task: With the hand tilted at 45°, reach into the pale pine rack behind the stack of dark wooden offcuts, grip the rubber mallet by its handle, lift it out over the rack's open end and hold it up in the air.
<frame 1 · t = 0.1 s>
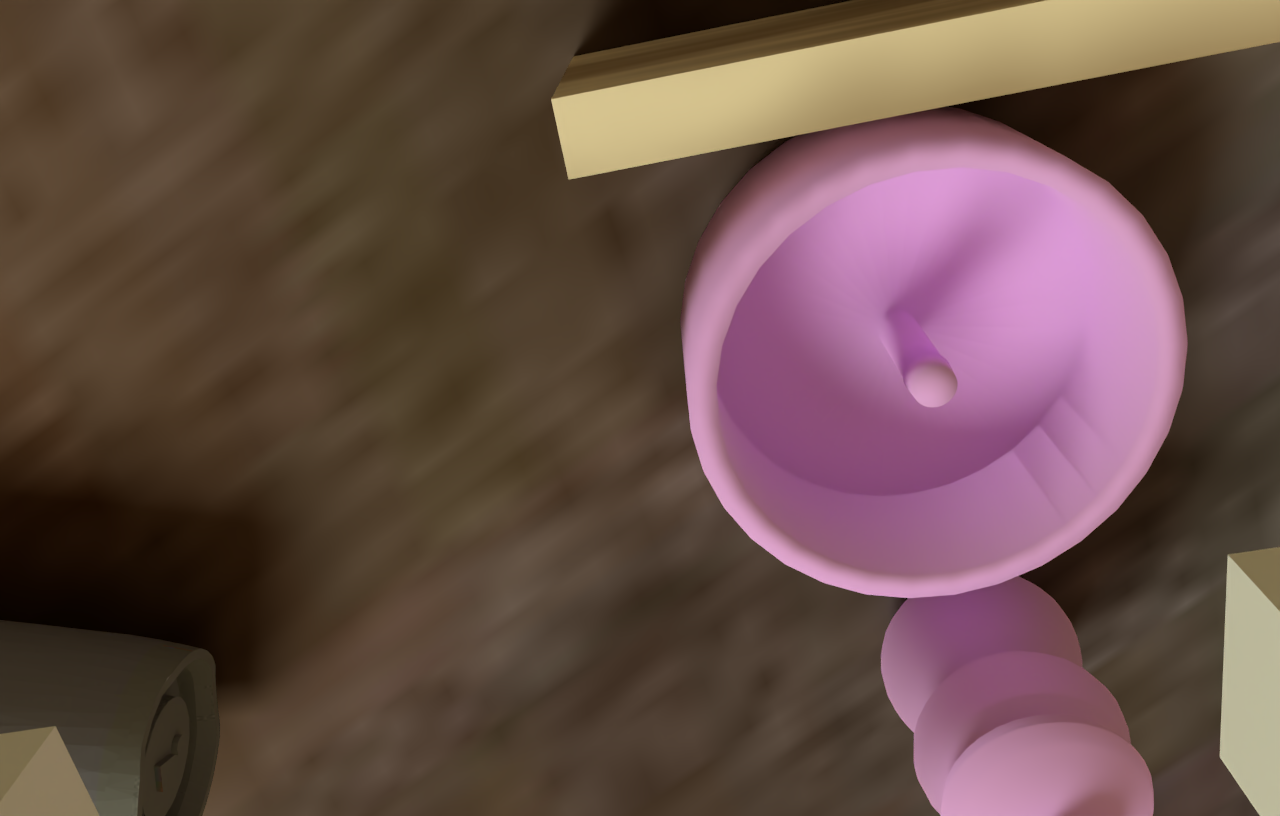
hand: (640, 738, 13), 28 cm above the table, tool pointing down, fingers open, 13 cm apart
container set: (917, 435, 42), on the table
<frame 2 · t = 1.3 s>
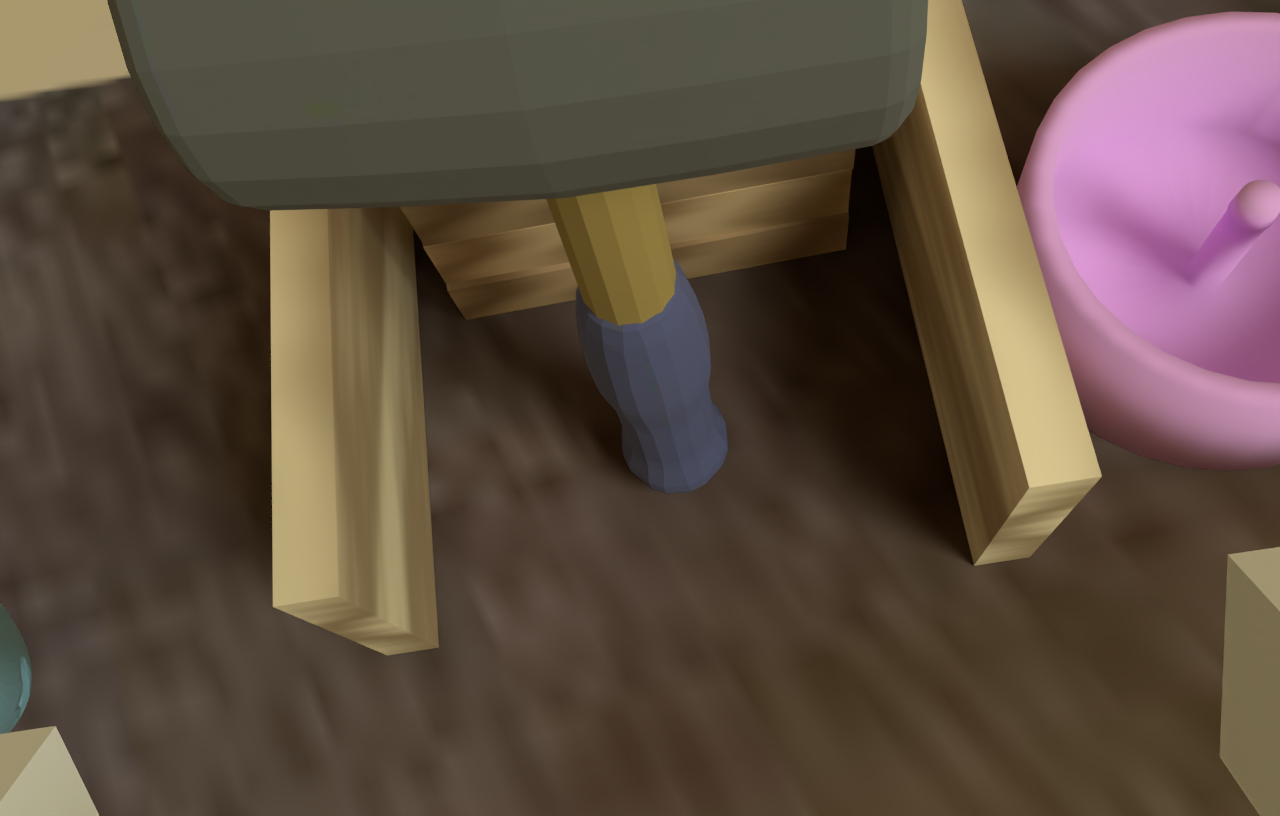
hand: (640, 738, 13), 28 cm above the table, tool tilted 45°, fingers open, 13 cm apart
middle offcut: (636, 194, 44), point 3 cm above the table, touching bottom offcut, top offcut
rubber mallet: (679, 456, 43), on the table
bottom offcut: (645, 236, 47), resting in pine rack, touching middle offcut
pine rack: (665, 361, 45), on the table
top offcut: (627, 151, 42), point 6 cm above the table, touching middle offcut
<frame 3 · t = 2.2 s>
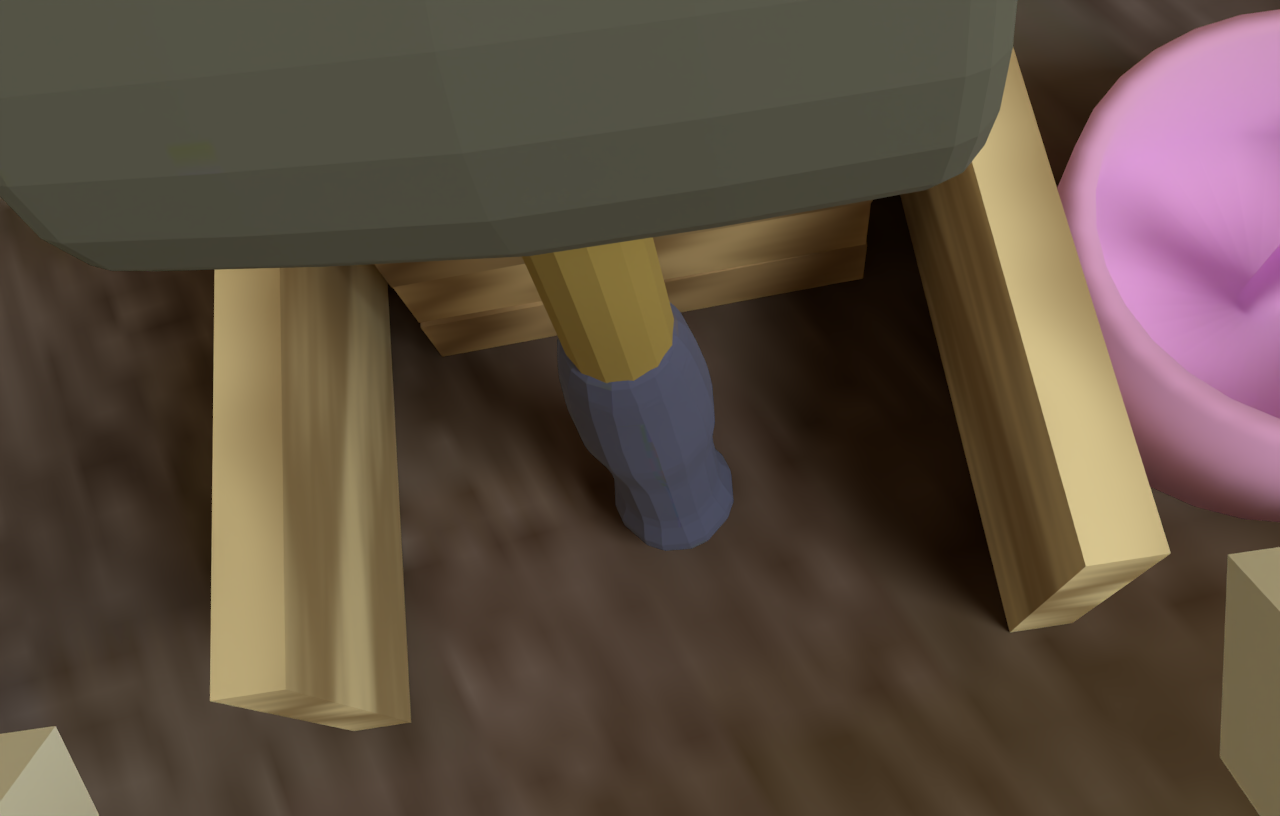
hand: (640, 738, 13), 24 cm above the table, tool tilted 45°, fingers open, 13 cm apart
middle offcut: (630, 222, 40), point 3 cm above the table, touching top offcut
rubber mallet: (679, 506, 39), on the table
bottom offcut: (641, 264, 43), resting in pine rack
pine rack: (663, 399, 40), on the table
top offcut: (619, 180, 37), point 6 cm above the table, touching middle offcut
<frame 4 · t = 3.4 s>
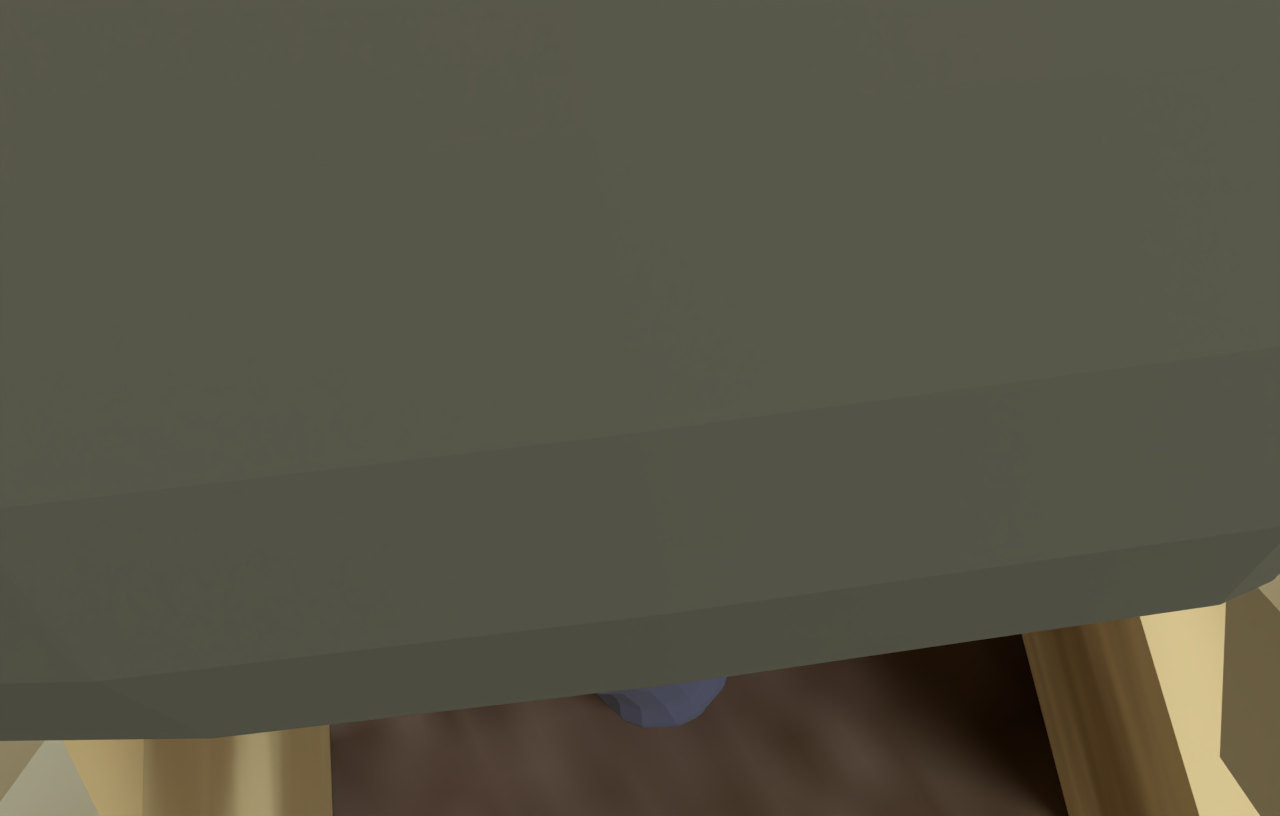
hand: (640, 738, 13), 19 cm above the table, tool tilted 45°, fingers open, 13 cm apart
rubber mallet: (664, 661, 32), on the table
pine rack: (644, 526, 33), on the table
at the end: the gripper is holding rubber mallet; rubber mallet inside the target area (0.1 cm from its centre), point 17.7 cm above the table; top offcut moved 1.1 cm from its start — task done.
